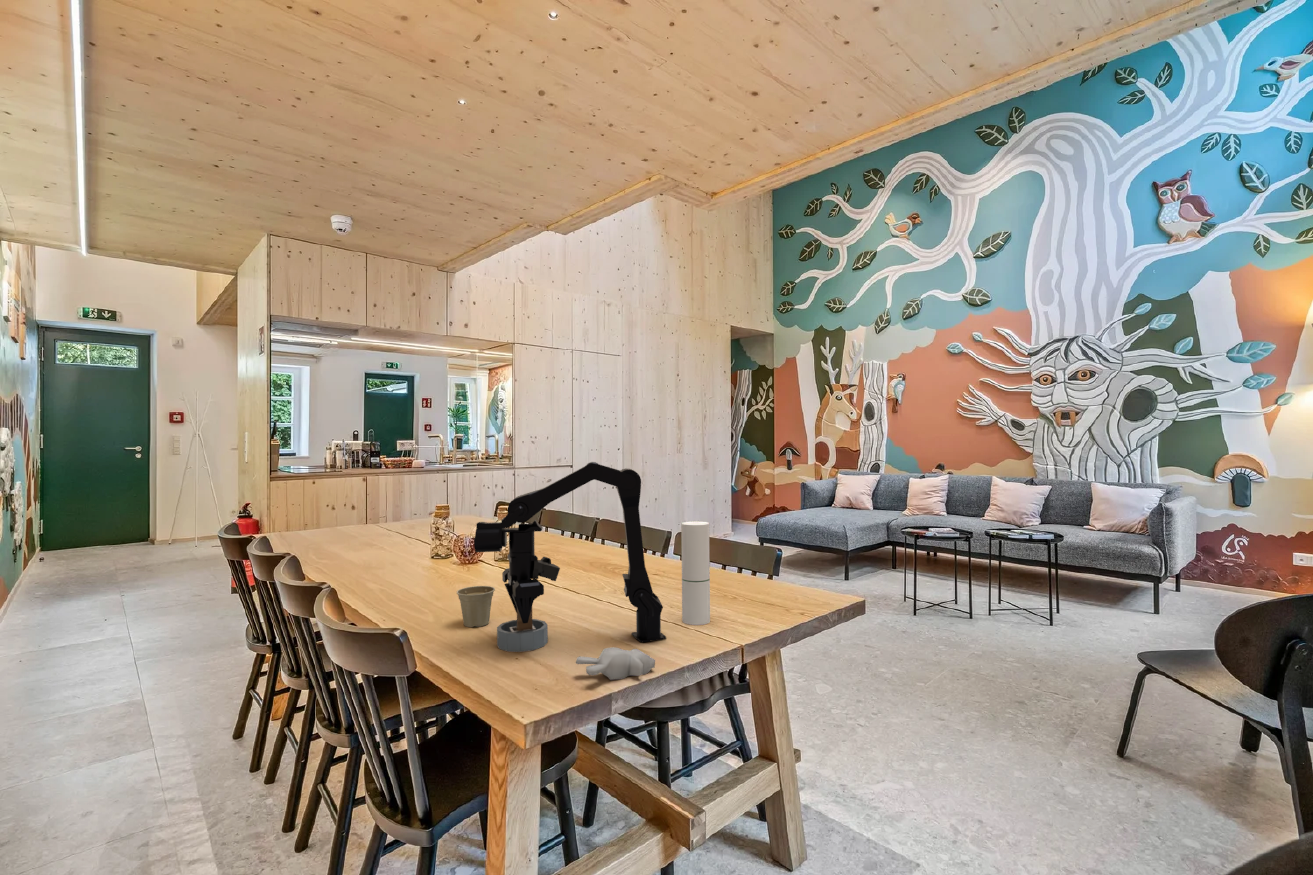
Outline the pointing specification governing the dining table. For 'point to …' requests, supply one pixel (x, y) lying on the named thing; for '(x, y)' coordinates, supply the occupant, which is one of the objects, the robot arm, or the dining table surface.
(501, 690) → the dining table surface
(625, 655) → the bunny figurine
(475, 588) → the flower pot
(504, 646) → the blue-grey round dish
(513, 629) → the clip
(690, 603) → the cylindrical container
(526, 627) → the brown rectangular block
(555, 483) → the robot arm
